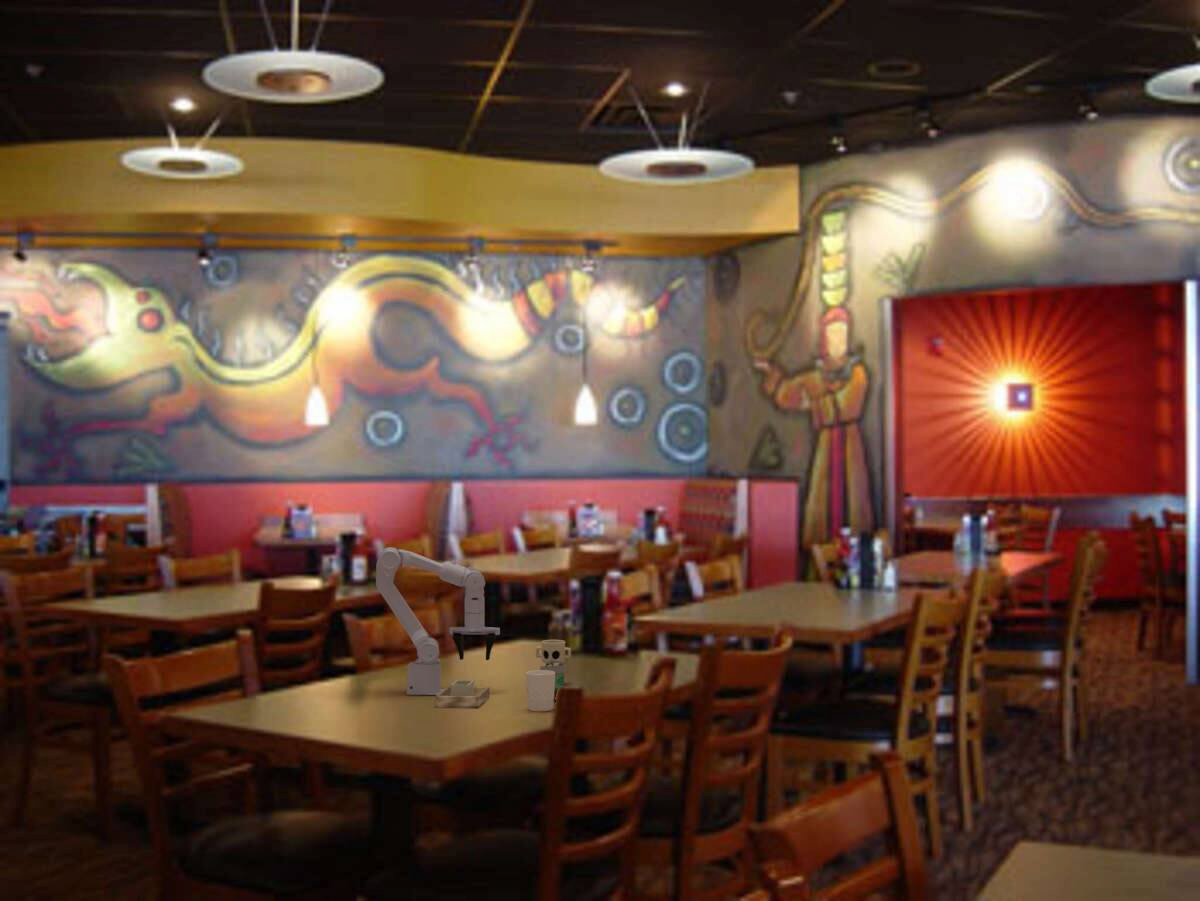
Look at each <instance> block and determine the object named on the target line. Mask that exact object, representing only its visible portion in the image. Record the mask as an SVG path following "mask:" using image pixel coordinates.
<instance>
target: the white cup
mask: <svg viewBox="0 0 1200 901" xmlns="http://www.w3.org/2000/svg"><path fill="white" fill-rule="evenodd" d="M525 676H526V678H525V679H526V695H527V696H526V697H527V698H526V699H527V709H528V710H529V711H531V712H550V711H553V709H554V701H553V700H554V690H555V672H554V671H548V670H540V669H535V670H529V671H526V672H525Z"/></svg>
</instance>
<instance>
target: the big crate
mask: <svg viewBox="0 0 1200 901" xmlns="http://www.w3.org/2000/svg"><path fill="white" fill-rule="evenodd" d="M443 689H444V690H443V691H441V692H440V693H439V694H438V695H434V696H435V697H434V699H435V700H434V702H435V704H434V706H435V708H446V707H447V709H448V708H449V709H451V708H453V709H454V708H457V709H479V708H481V707H482V706H483V705H484V704H485V703H486V702H487V701H488V700H489V699H490V687H489V686H484V687H483V686H474V697H472V696H451V686H447V687H445V688H443Z"/></svg>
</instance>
